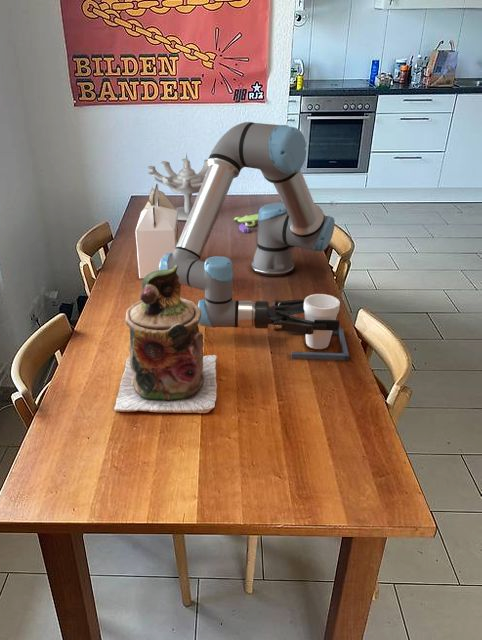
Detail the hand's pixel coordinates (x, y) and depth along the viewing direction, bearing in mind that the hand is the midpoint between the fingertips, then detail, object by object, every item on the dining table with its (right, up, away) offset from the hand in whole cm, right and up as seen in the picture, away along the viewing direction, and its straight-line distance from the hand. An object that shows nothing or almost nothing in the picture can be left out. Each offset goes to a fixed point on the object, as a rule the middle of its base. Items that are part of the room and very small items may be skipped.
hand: (336, 316), depth 157 cm
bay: (-4, -7, +5) cm, 10 cm away
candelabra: (-43, +56, +105) cm, 127 cm away
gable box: (-52, +24, +56) cm, 80 cm away
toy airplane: (-10, +47, +90) cm, 102 cm away
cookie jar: (-45, -19, -11) cm, 50 cm away
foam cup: (-4, -7, +5) cm, 10 cm away
